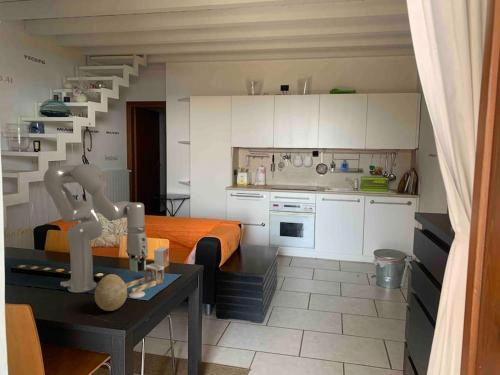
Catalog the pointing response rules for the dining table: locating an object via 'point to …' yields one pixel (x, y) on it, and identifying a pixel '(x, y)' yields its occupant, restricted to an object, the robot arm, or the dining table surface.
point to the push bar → (149, 279)
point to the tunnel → (153, 268)
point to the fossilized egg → (110, 292)
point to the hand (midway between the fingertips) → (137, 268)
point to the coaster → (137, 294)
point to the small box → (161, 256)
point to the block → (136, 264)
